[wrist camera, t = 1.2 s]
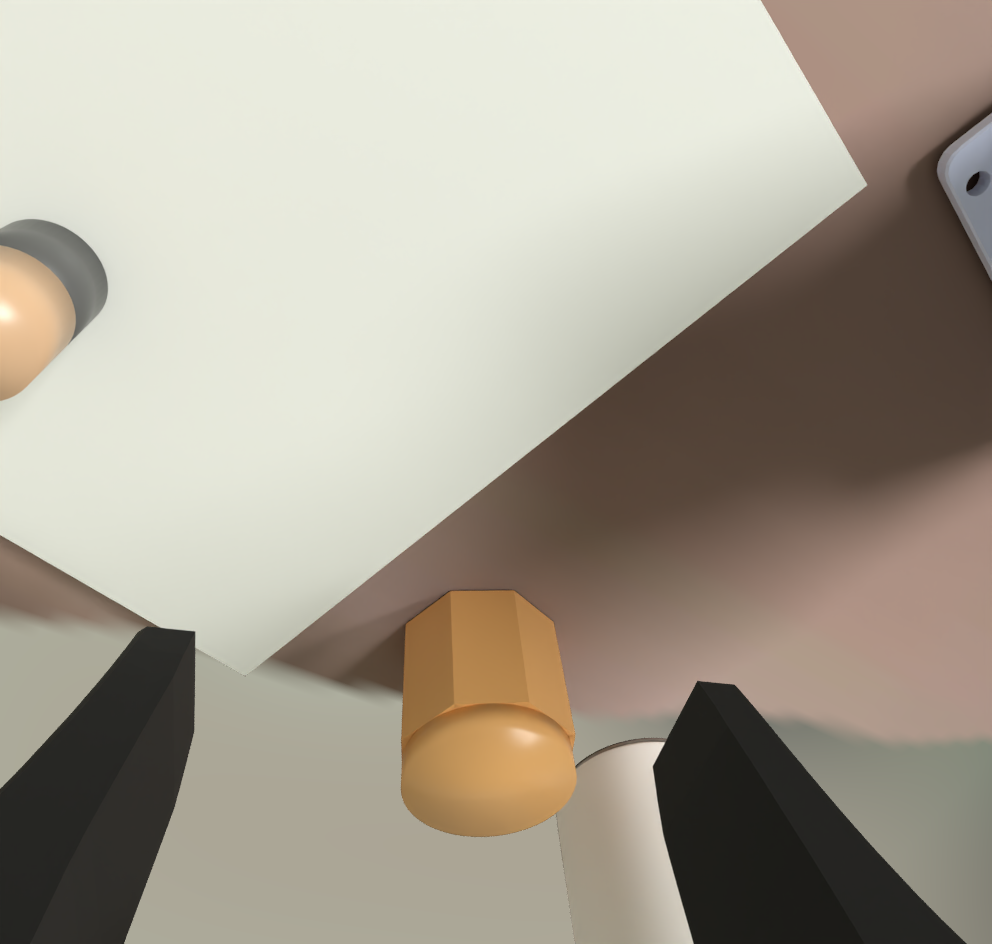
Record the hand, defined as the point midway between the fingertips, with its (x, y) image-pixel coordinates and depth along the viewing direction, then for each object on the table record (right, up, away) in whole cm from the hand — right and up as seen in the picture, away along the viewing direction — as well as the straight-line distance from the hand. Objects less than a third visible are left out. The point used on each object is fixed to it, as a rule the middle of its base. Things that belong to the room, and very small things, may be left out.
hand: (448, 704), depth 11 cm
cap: (0, -2, +13) cm, 13 cm away
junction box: (-4, +9, +5) cm, 11 cm away
